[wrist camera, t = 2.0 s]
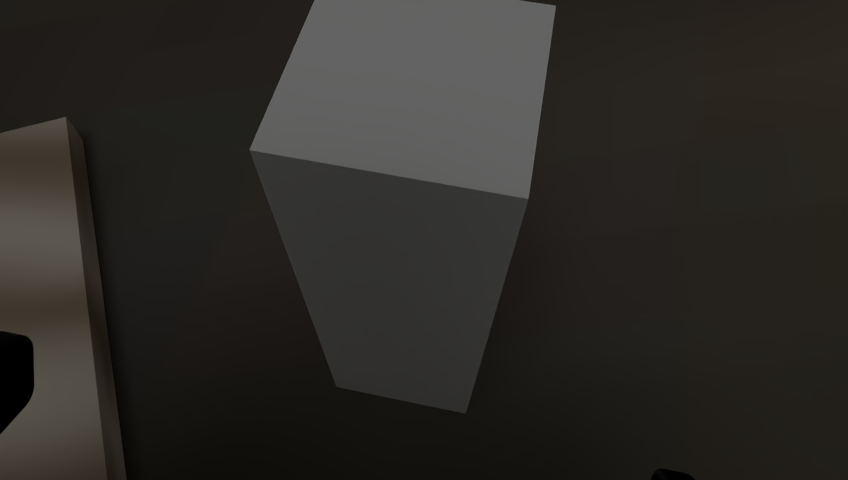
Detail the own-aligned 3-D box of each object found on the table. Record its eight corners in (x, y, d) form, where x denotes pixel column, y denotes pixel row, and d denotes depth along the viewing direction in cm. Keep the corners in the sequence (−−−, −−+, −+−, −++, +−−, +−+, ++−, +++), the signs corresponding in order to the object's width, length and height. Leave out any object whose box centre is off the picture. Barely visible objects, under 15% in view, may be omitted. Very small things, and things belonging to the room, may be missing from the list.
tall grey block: (465, 413, 21) (528, 199, 10) (336, 386, 21) (249, 150, 10) (485, 294, 23) (555, 5, 12) (368, 272, 23) (326, -29, 12)
